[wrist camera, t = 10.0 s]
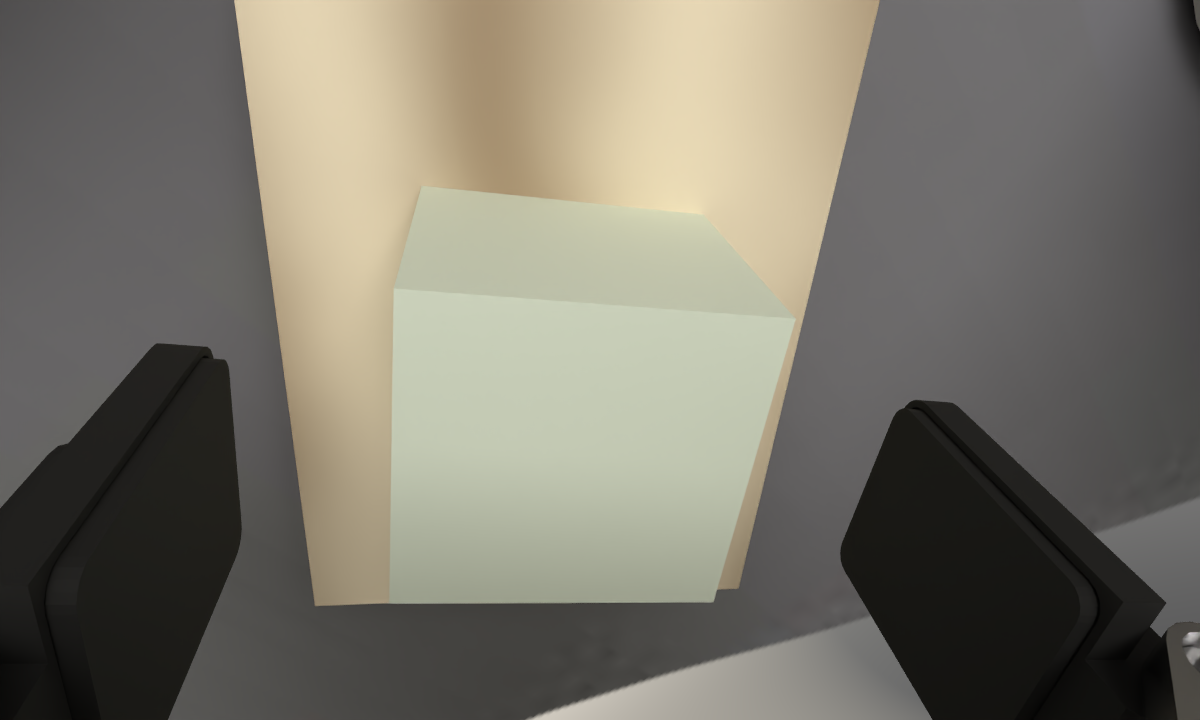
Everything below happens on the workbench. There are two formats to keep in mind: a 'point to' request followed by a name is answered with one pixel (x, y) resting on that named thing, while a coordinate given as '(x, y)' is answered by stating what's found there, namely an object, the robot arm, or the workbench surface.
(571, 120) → the maple block
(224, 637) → the workbench surface
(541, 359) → the sage cube
